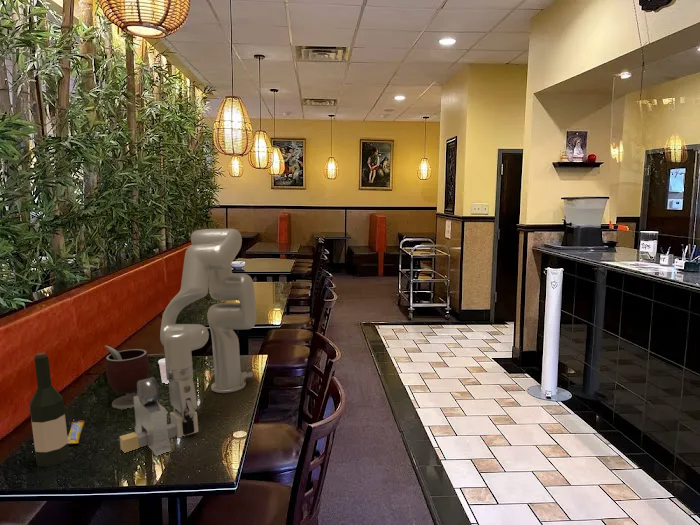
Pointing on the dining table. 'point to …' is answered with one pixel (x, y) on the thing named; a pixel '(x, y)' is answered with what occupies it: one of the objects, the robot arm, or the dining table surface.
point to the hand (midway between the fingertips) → (184, 429)
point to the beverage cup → (163, 370)
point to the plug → (140, 440)
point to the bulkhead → (151, 416)
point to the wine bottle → (48, 418)
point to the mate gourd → (126, 374)
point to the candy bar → (75, 432)
